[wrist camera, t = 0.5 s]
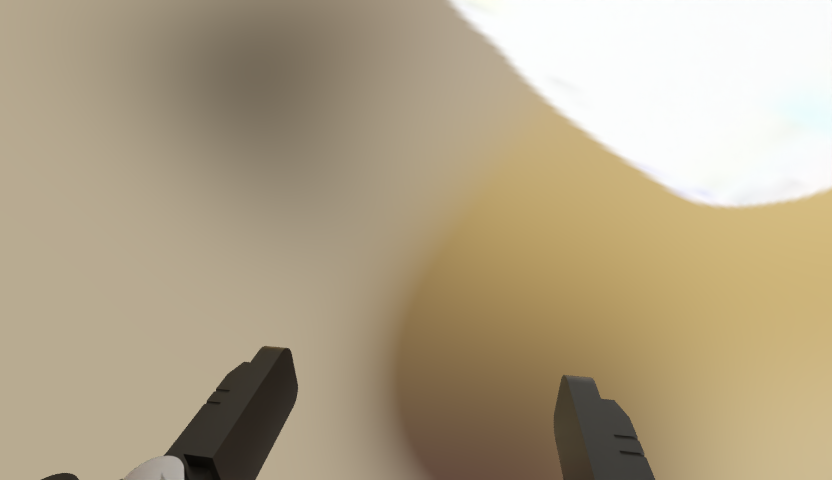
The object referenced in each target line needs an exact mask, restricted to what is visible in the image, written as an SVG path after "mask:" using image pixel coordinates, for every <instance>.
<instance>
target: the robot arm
mask: <svg viewBox="0 0 832 480" xmlns="http://www.w3.org/2000/svg"><path fill="white" fill-rule="evenodd" d="M297 392H298V384H297V378H296V374H295V368H294V364H293V358H292V354H291V351H290V349H289V348H280V347H269V346H264V347H262V348H261V349H260V350H259V351H258V353H257V354H256V356H255V357H254V358H253V360H252V361H251V362H250V363H249V362H243V363H242V364H241V365H239V366H238V367H236V368H235V369H234V370H232V371H231V372H230V373H229V374H227V376H226V377H225V378H224V380H223V381H222V382H221V383H220V385H219V386H218V387H217V389H216V392H213V394H212V395H211V396H210V397H209V399H208V400H207V403H206V404H204V405H203V406H202V408H201V409H200V410H199V412H198V413H197V414H196V416H195V417H194V418H193V419H192V421H191V422H190V423H189V424H188V426H187V427H186V429H185V430H184V431H183V432H182V434H181V435H180V436H179V437H178V439H177V440H176V441H175V442H174V444H173V445H172V446H171V448H170V449H169V450H168V452H167V453H166V454H165V455H164V456H160V457H156V458H153V459H150V460H148V461H146V462H144V463H143V464H141V465H139V466H138V467H136V468H135V469H134V470H132V471H131V472H130V473H129V474H128V475H127V476H126V477H125V478H124V479H121V480H255V479H256V477H257V476H258V474H259V472H260V470H261V468H262V466H263V464H264V462H265V460H266V458H267V456H268V454H269V452H270V450H271V449H272V447H273V445H274V443H275V441H276V439H277V437H278V435H279V433H280V431H281V429H282V427H283V425H284V423H285V421H286V420H287V418H288V416H289V414H290V412H291V410H292V408H293V406H294V404H295V401H296V398H297ZM554 434H555V440H556V444H557V450H558V455H559V459H560V464H561V469H562V474H563V479H564V480H655V478H654V476H653V473H652V471H651V468H650V466H649V464H648V461H647V459H646V458H645V457H644V452H643V449H642V447H641V444H640V442H639V441H638V440H637V435H636V432H635V430H634V428H633V425H632V423H631V420H630V418H629V417H628V416H627V414H626V413H625V412H624V411H623V410H622V409H621V408H620V406H619V405H618V404H617V403H616V402H615V401H614V400H607V399H601V398H600V395H599V392H598V390H597V387H596V384H595V381H594V380H593V379H592V378H590V377H579V376H567V375H563V377H562V379H561V383H560V388H559V393H558V398H557V402H556V408H555V412H554ZM42 480H79V479H78V478H77V477H76V476H75V475H73V474H70V473H61V474H55V475H52V476H49V477H46V478H44V479H42Z"/></svg>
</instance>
